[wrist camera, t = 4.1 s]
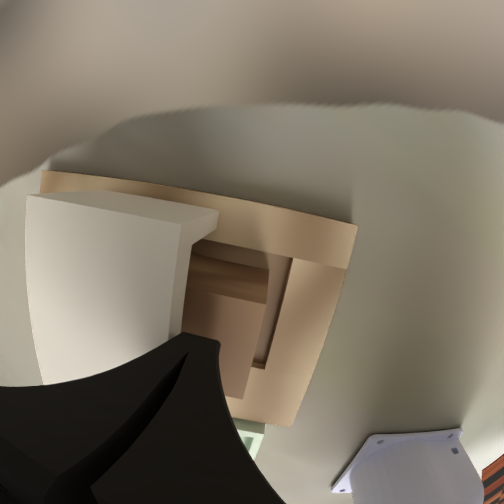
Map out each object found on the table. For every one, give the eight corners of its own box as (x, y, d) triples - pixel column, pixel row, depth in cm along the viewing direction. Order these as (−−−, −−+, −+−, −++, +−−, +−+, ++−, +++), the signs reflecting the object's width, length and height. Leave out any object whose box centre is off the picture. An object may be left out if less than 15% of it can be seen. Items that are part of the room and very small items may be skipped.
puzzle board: (352, 223, 13) (357, 226, 12) (290, 416, 16) (291, 426, 15) (52, 170, 14) (42, 170, 13) (53, 343, 16) (46, 349, 15)
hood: (219, 210, 12) (181, 224, 7) (193, 377, 14) (163, 446, 9) (102, 189, 12) (27, 195, 7) (97, 345, 14) (46, 394, 9)
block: (269, 270, 13) (266, 304, 9) (251, 347, 14) (242, 399, 10) (181, 251, 14) (144, 276, 9) (172, 328, 14) (141, 372, 10)
